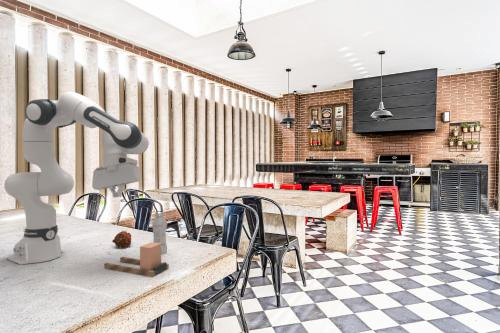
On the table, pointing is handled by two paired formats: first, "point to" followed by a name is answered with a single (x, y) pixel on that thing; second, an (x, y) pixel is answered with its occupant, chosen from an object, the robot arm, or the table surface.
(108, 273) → the table surface
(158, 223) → the plastic bottle
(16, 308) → the table surface
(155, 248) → the block
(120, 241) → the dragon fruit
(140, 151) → the robot arm
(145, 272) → the chute
